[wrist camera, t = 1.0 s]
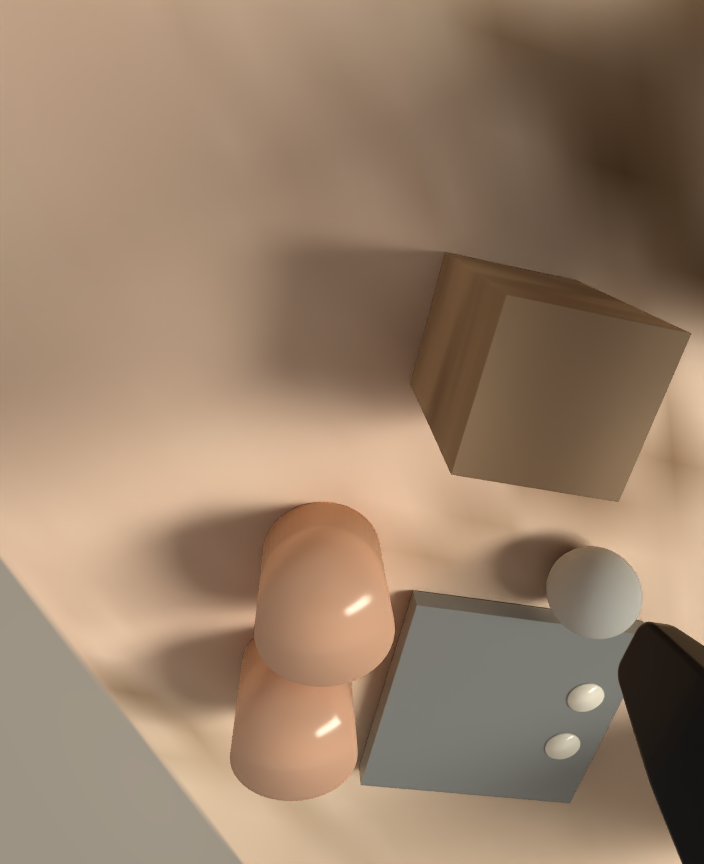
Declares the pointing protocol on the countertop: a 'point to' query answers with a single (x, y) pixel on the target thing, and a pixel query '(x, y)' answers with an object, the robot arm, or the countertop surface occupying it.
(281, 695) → the peach capsule shape
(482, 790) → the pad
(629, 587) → the grey ball
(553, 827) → the countertop surface
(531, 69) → the countertop surface
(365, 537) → the peach rounded capsule
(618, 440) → the walnut block
